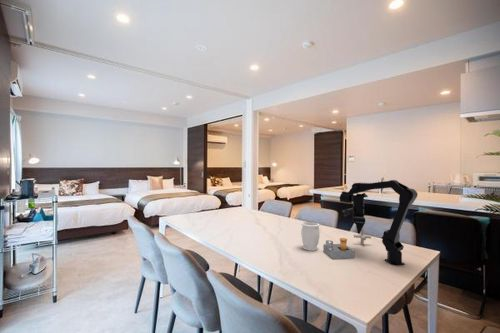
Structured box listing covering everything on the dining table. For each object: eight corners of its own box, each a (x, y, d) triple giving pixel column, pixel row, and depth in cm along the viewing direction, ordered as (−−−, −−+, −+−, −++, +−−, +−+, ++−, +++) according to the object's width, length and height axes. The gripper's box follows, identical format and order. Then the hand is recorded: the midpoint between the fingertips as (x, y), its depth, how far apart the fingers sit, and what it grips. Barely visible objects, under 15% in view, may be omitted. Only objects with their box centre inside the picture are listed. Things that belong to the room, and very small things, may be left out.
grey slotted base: (354, 258, 128) (354, 246, 128) (332, 259, 127) (332, 246, 127) (343, 250, 140) (343, 239, 140) (323, 251, 139) (323, 240, 139)
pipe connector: (373, 247, 146) (373, 231, 146) (355, 246, 148) (355, 230, 148) (368, 242, 156) (368, 227, 156) (352, 241, 158) (352, 226, 158)
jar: (306, 252, 137) (306, 226, 137) (298, 246, 147) (298, 222, 147) (322, 250, 139) (323, 225, 140) (313, 245, 149) (313, 221, 150)
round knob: (348, 254, 130) (348, 240, 130) (341, 254, 130) (341, 240, 130) (344, 251, 134) (344, 237, 134) (338, 252, 133) (338, 238, 133)
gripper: (343, 201, 149) (343, 226, 149) (343, 205, 132) (343, 234, 132) (363, 202, 145) (363, 228, 145) (365, 207, 128) (365, 236, 128)
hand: (358, 231), depth 138 cm, fingers open, 9 cm apart
